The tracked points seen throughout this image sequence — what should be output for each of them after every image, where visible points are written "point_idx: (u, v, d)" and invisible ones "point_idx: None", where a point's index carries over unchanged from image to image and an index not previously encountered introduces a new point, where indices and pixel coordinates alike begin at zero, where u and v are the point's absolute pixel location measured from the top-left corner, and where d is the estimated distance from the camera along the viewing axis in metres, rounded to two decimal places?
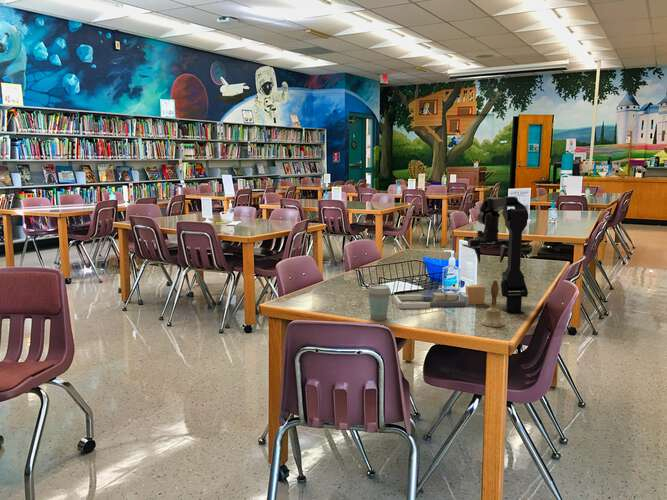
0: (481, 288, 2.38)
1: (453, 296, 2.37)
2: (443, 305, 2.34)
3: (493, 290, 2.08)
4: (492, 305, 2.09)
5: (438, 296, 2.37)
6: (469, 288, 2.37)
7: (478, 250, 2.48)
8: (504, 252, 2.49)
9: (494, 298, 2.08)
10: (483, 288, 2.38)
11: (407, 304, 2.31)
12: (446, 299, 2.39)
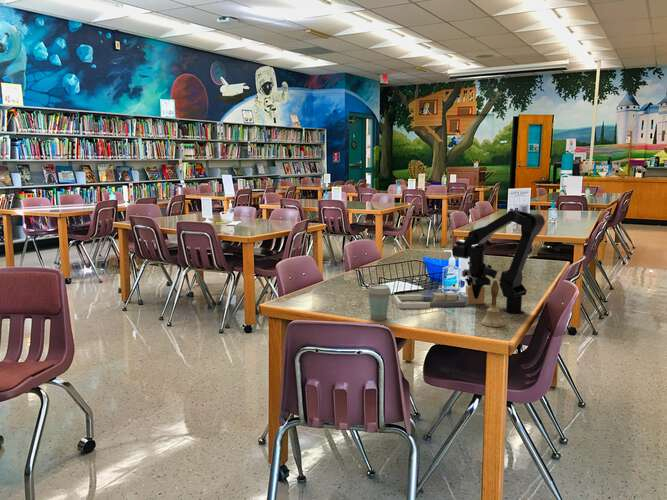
0: (481, 288, 2.38)
1: (453, 296, 2.37)
2: (443, 305, 2.34)
3: (493, 290, 2.08)
4: (492, 305, 2.09)
5: (438, 296, 2.37)
6: (469, 288, 2.37)
7: (467, 282, 2.42)
8: None
9: (494, 298, 2.08)
10: (483, 288, 2.38)
11: (407, 304, 2.31)
12: (446, 299, 2.39)
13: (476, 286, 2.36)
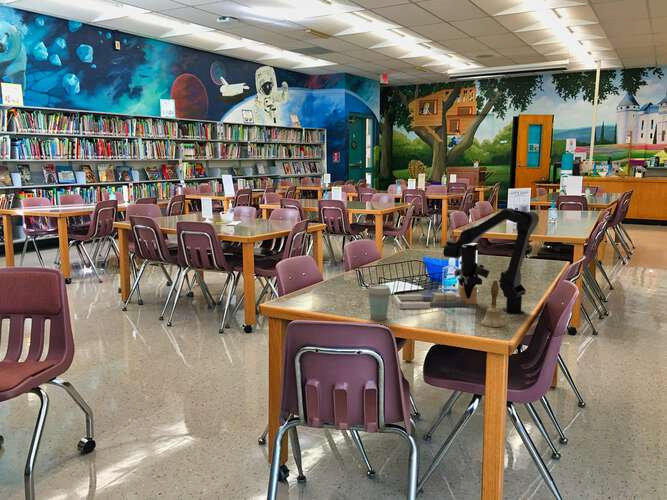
0: (473, 288, 2.38)
1: (452, 296, 2.37)
2: (443, 305, 2.34)
3: (493, 290, 2.08)
4: (492, 305, 2.09)
5: (438, 296, 2.37)
6: (461, 288, 2.37)
7: (459, 282, 2.41)
8: None
9: (494, 298, 2.08)
10: (475, 288, 2.38)
11: (407, 304, 2.31)
12: (445, 299, 2.38)
13: (468, 286, 2.36)
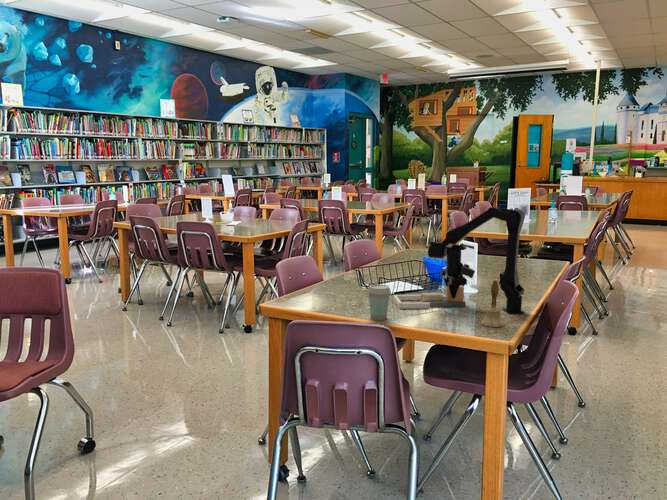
0: (460, 288, 2.37)
1: (438, 296, 2.37)
2: (443, 305, 2.34)
3: (493, 290, 2.08)
4: (492, 305, 2.09)
5: (426, 296, 2.36)
6: (448, 288, 2.37)
7: None
8: None
9: (494, 298, 2.08)
10: (462, 288, 2.37)
11: (407, 304, 2.31)
12: None
13: (453, 286, 2.35)
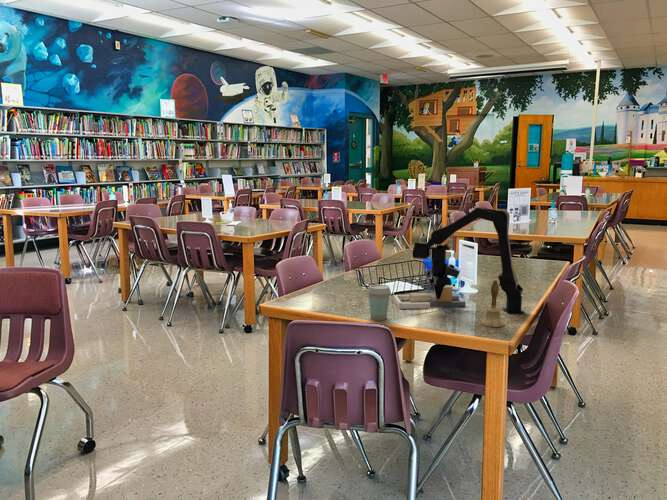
0: (449, 288, 2.37)
1: (427, 296, 2.36)
2: (443, 305, 2.34)
3: (493, 290, 2.08)
4: (492, 305, 2.09)
5: (414, 296, 2.36)
6: None
7: None
8: (433, 287, 2.35)
9: (494, 298, 2.08)
10: (451, 288, 2.37)
11: (407, 304, 2.31)
12: None
13: (438, 286, 2.35)
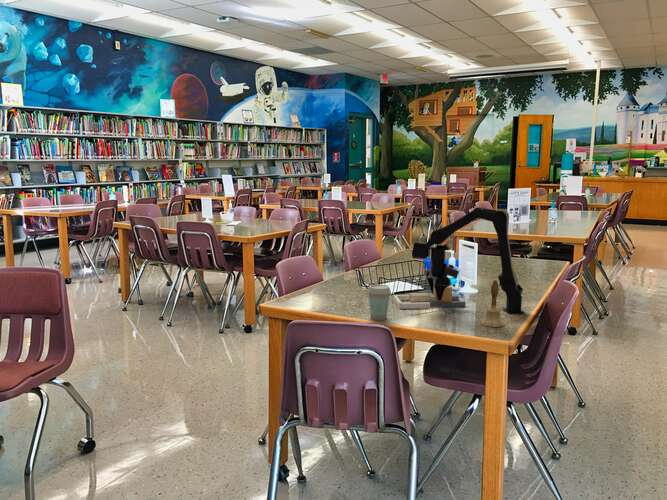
0: (448, 288, 2.37)
1: (427, 296, 2.36)
2: (443, 305, 2.34)
3: (493, 290, 2.08)
4: (492, 305, 2.09)
5: (414, 296, 2.36)
6: None
7: (427, 281, 2.43)
8: None
9: (494, 298, 2.08)
10: (450, 288, 2.37)
11: (407, 304, 2.31)
12: None
13: (439, 288, 2.32)
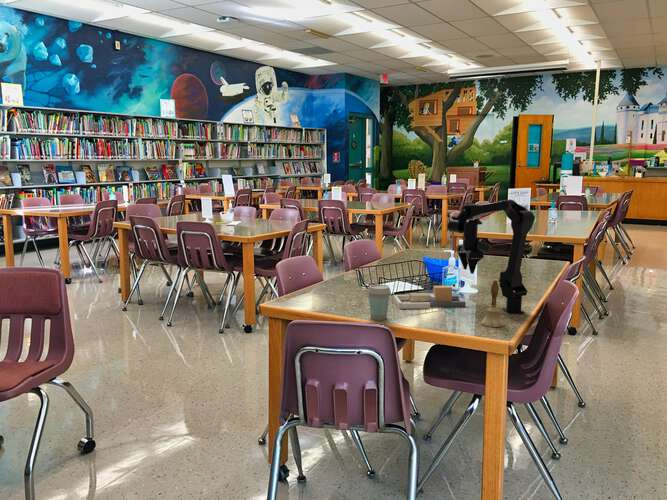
0: (448, 288, 2.37)
1: (427, 296, 2.36)
2: (443, 305, 2.34)
3: (493, 290, 2.08)
4: (492, 305, 2.09)
5: (414, 296, 2.36)
6: (436, 288, 2.36)
7: (459, 255, 2.49)
8: (467, 262, 2.38)
9: (494, 298, 2.08)
10: (450, 288, 2.37)
11: (407, 304, 2.31)
12: None
13: (472, 261, 2.37)
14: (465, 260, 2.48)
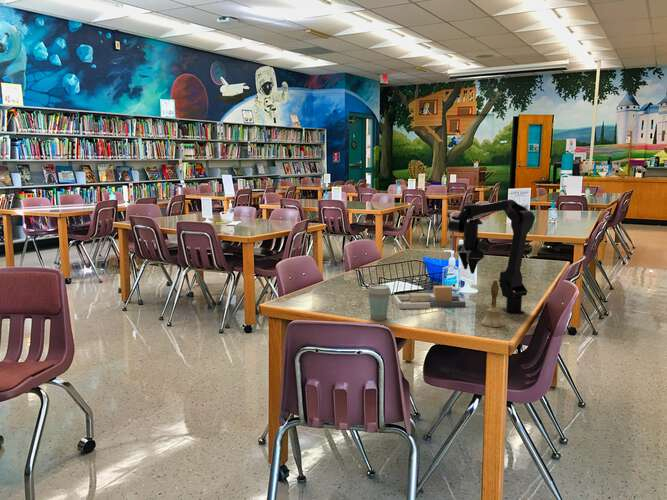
0: (448, 288, 2.37)
1: (427, 296, 2.36)
2: (443, 305, 2.34)
3: (493, 290, 2.08)
4: (492, 305, 2.09)
5: (414, 296, 2.36)
6: (436, 288, 2.36)
7: (459, 255, 2.49)
8: (468, 262, 2.38)
9: (494, 298, 2.08)
10: (450, 288, 2.37)
11: (407, 304, 2.31)
12: None
13: (472, 261, 2.38)
14: (465, 260, 2.48)
